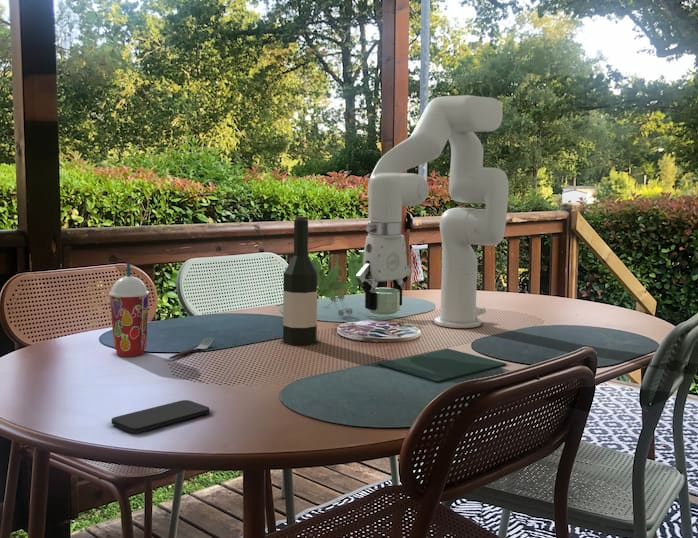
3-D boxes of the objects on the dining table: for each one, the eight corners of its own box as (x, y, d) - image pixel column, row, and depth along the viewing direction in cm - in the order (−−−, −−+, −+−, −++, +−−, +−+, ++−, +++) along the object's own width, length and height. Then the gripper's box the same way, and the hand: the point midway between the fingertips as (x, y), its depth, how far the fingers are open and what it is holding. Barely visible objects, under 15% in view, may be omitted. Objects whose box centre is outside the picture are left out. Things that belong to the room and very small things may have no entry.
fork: (164, 360, 161) (164, 350, 161) (205, 344, 176) (205, 336, 176) (174, 361, 160) (174, 352, 160) (215, 345, 175) (215, 337, 175)
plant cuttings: (280, 347, 203) (333, 306, 191) (252, 293, 207) (302, 250, 195) (357, 327, 231) (407, 290, 219) (331, 280, 235) (378, 241, 223)
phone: (212, 408, 127) (134, 429, 115) (212, 413, 127) (134, 434, 115) (186, 399, 131) (108, 418, 120) (186, 403, 132) (108, 423, 120)
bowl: (384, 307, 177) (384, 286, 176) (405, 312, 172) (406, 290, 171) (361, 311, 172) (361, 290, 172) (383, 316, 167) (383, 294, 166)
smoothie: (157, 351, 168) (156, 262, 166) (135, 359, 161) (133, 267, 158) (126, 347, 171) (124, 260, 169) (102, 356, 163) (99, 264, 161)
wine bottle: (323, 340, 183) (325, 216, 179) (306, 347, 175) (308, 218, 171) (293, 336, 186) (294, 215, 182) (276, 342, 179) (276, 216, 175)
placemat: (447, 350, 175) (447, 348, 175) (506, 365, 163) (506, 363, 163) (378, 364, 161) (378, 363, 161) (437, 382, 148) (437, 380, 148)
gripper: (367, 233, 161) (366, 314, 163) (423, 228, 172) (422, 304, 175) (344, 230, 166) (344, 309, 169) (400, 226, 178) (399, 300, 180)
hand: (383, 306), depth 172 cm, fingers closed on bowl, 7 cm apart
